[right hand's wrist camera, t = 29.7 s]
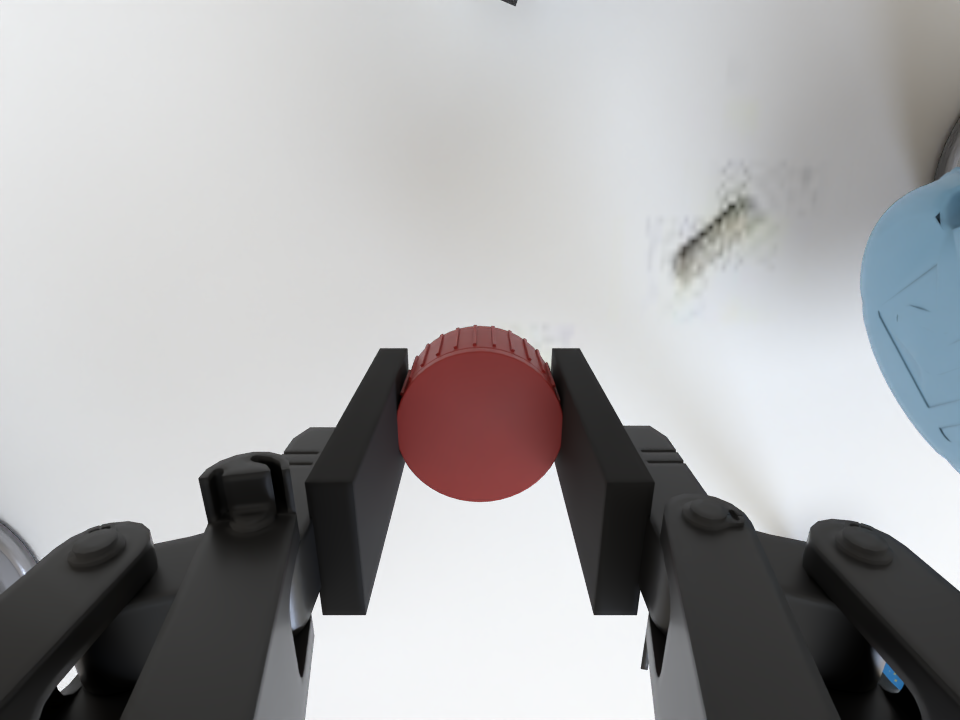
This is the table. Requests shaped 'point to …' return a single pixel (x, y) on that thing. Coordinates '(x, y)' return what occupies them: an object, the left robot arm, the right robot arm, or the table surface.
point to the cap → (479, 415)
